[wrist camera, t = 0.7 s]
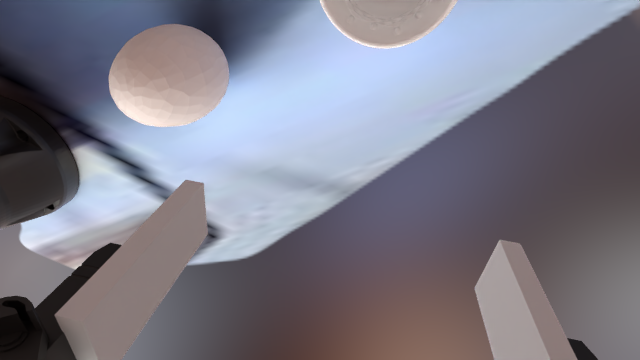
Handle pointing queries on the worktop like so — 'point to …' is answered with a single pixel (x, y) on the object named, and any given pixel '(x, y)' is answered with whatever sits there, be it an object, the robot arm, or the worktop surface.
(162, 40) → the egg
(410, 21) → the white cup
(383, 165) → the worktop surface
